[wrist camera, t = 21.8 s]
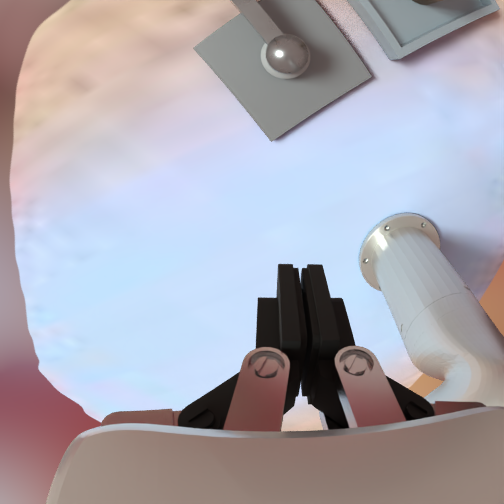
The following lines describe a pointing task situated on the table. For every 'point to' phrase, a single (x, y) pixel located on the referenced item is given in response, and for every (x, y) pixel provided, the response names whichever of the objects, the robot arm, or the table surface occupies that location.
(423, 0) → the block
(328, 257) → the table surface
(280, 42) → the crank
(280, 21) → the crank base
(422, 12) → the tray
